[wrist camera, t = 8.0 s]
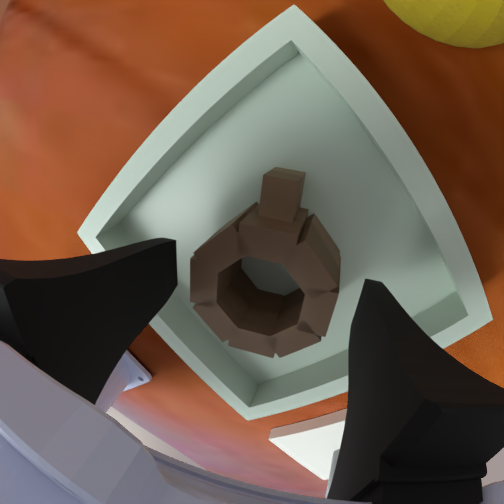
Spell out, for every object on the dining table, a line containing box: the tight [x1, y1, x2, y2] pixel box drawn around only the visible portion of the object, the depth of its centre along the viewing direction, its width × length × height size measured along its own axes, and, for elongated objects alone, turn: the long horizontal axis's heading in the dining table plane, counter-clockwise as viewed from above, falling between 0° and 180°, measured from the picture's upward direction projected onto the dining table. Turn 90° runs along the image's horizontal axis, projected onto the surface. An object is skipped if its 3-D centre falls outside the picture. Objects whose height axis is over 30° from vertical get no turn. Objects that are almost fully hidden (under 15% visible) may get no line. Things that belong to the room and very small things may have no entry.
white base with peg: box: [269, 408, 347, 499], centre depth 16 cm, size 8×8×5 cm
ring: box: [190, 167, 341, 358], centre depth 12 cm, size 7×5×3 cm
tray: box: [77, 5, 493, 421], centre depth 13 cm, size 14×14×2 cm
